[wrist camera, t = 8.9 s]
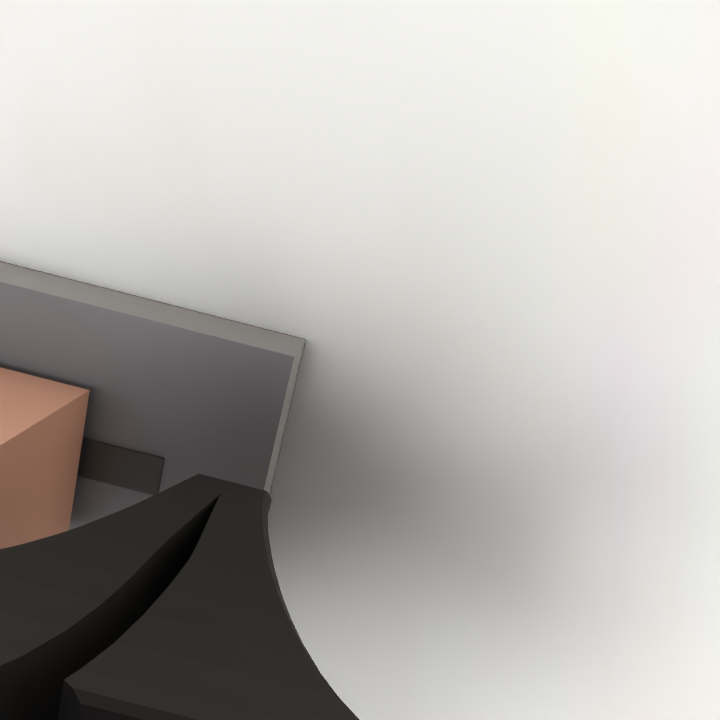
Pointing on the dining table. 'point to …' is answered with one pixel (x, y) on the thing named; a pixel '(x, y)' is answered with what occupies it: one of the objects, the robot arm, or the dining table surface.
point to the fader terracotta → (38, 455)
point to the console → (151, 386)
